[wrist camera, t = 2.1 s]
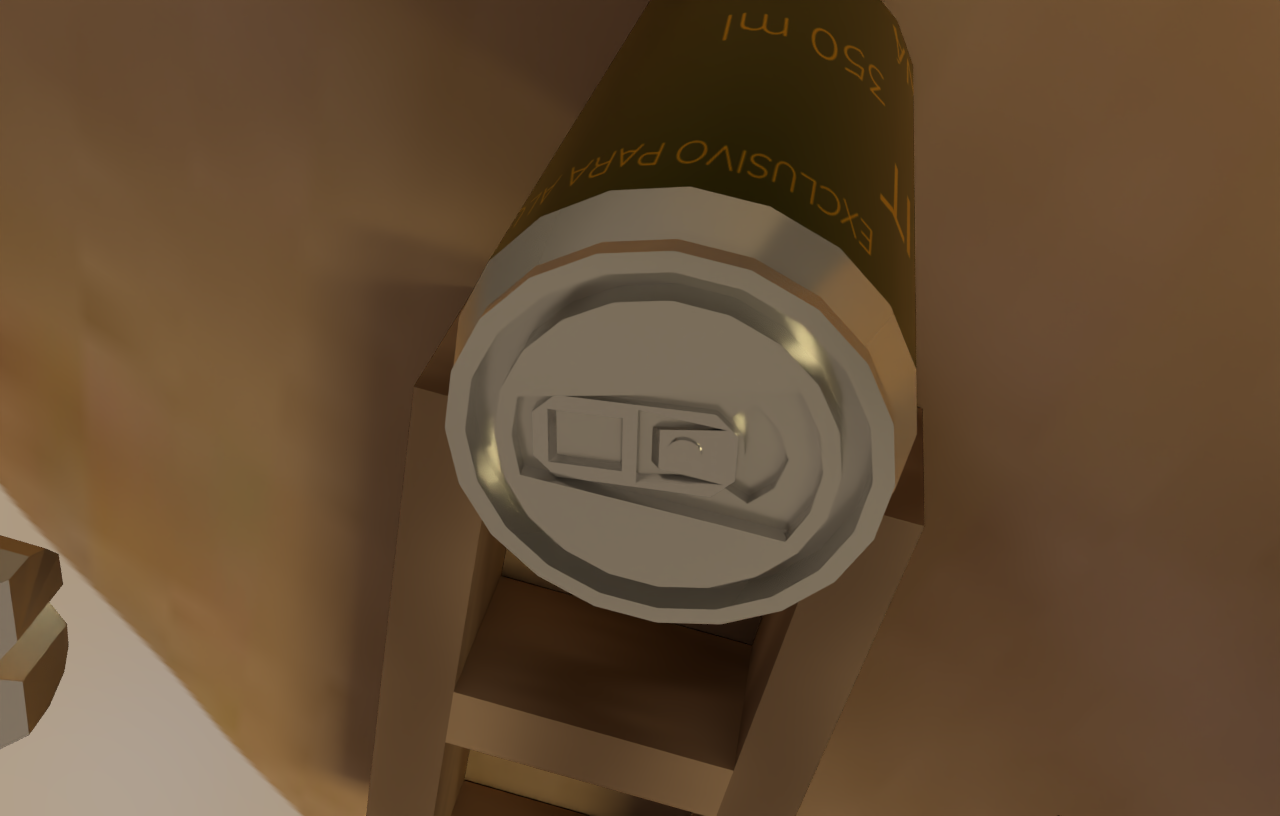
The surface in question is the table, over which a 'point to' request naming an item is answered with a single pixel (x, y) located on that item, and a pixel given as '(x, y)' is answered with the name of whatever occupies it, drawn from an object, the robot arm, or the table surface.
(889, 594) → the shelf
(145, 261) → the table surface
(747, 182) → the beer can
